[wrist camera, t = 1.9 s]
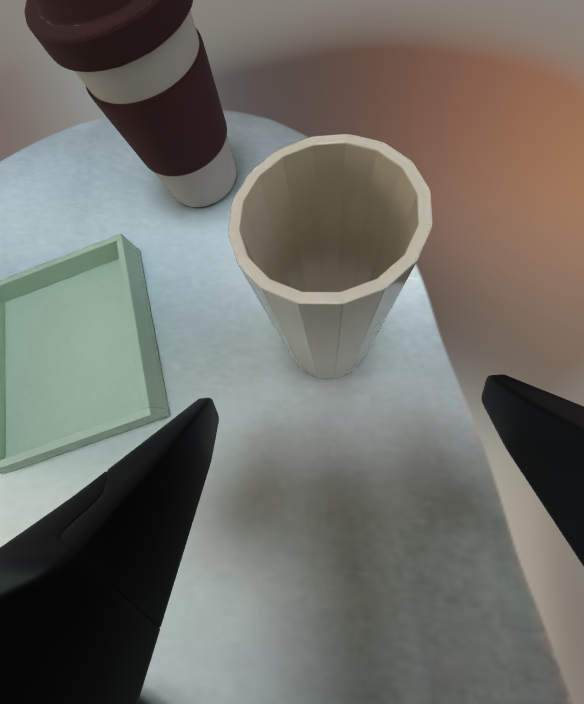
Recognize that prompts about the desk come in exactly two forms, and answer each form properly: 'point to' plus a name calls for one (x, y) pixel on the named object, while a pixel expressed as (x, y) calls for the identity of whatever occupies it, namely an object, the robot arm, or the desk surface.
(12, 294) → the tray
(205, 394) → the desk surface
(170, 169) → the coffee cup
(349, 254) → the tumbler
